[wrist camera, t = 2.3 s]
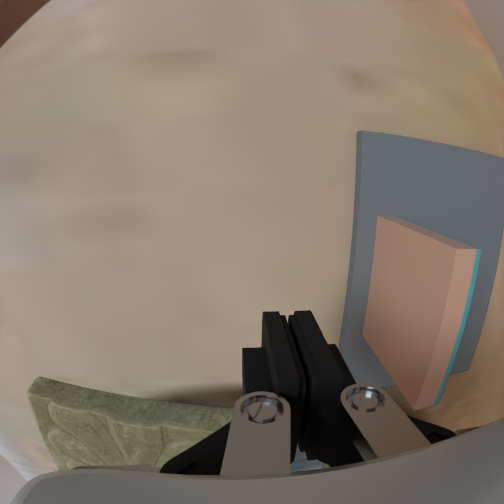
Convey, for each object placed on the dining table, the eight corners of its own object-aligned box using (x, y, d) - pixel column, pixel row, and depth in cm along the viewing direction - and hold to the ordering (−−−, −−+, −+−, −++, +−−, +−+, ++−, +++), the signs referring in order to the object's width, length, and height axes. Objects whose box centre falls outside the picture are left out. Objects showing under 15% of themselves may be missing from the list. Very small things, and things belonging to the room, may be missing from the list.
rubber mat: (463, 365, 23) (467, 370, 22) (332, 387, 22) (334, 393, 22) (501, 158, 18) (508, 159, 18) (356, 131, 18) (361, 130, 17)
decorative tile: (86, 493, 27) (79, 514, 24) (36, 371, 22) (18, 394, 18) (237, 515, 28) (238, 539, 25) (251, 402, 23) (254, 434, 20)
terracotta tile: (381, 333, 21) (437, 404, 13) (362, 334, 20) (413, 410, 13) (398, 216, 18) (481, 249, 11) (377, 215, 18) (456, 248, 11)
